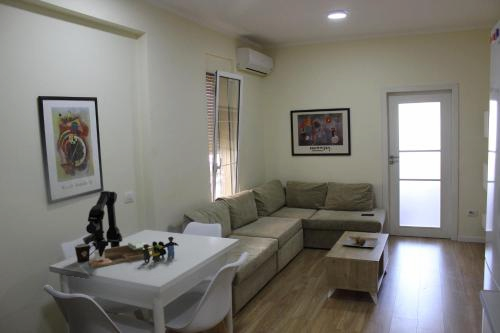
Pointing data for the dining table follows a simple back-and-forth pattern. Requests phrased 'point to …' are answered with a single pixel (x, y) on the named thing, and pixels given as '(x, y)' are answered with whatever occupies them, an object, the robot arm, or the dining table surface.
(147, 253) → the doll family
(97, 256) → the cream block
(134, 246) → the sage cover
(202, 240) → the dining table surface
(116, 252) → the puzzle board
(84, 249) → the coffee mug
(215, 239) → the dining table surface
